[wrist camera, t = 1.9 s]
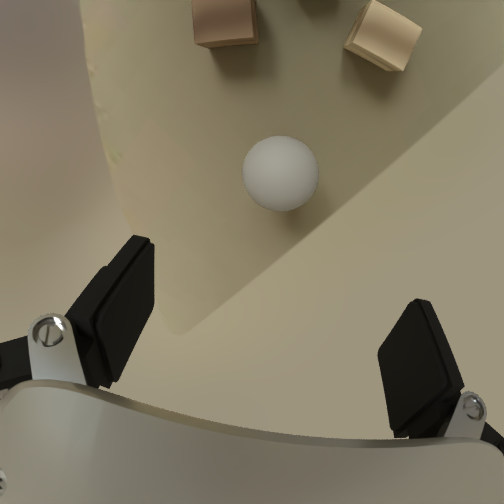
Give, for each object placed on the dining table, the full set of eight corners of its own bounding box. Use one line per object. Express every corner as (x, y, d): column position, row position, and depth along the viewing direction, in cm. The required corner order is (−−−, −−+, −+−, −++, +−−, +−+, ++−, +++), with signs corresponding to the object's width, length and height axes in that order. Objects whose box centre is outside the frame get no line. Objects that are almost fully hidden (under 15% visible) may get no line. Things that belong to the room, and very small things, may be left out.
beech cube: (360, 9, 21) (373, -1, 17) (403, 34, 22) (422, 28, 18) (342, 47, 24) (352, 42, 20) (386, 71, 24) (403, 71, 20)
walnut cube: (205, 6, 23) (191, -5, 18) (255, 0, 22) (249, -13, 18) (208, 48, 25) (194, 43, 21) (258, 43, 25) (253, 37, 20)
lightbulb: (249, 125, 29) (229, 149, 20) (308, 119, 28) (319, 141, 19) (257, 180, 33) (243, 227, 23) (314, 175, 32) (324, 221, 22)
